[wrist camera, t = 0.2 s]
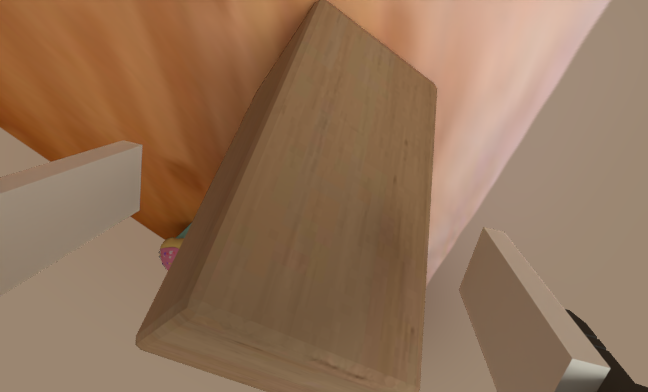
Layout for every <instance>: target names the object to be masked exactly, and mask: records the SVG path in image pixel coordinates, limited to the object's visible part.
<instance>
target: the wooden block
mask: <svg viewBox="0 0 648 392" xmlns="http://www.w3.org/2000/svg"><path fill="white" fill-rule="evenodd" d="M436 99H437V88H436V86H435V84H434V83H433V82H431V81H430V80H429V79H427V78H426V77H425V76H424V75H422V74H421V73H420V72H418V71H417V70H416V69H415V68H413V67H412V66H411V65H409V64H408V63H407V62H405V61H404V60H403V59H402V58H400V57H399V56H398V55H396V54H395V53H394V52H393V51H391V50H390V49H389V48H387V47H386V46H385V45H383V44H382V43H381V42H380V41H378V40H377V39H376V38H374V37H373V36H372V35H371V34H369V33H368V32H367V31H365V30H364V29H363V28H361V27H360V26H359V25H358V24H356V23H355V22H354V21H352V20H351V19H350V18H349V17H347V16H346V15H345V14H343V13H342V12H341V11H340V10H338V9H337V8H336V7H334V6H333V5H332V4H330V3H329V2H328V1H327V0H319V1H317V2H315V4H314V5H313V7H312V8H311V10H310V11H309V13H308V14H307V16H306V17H305V19H304V20H303V22H302V24H301V25H300V27H299V28H298V30H297V31H296V33H295V34H294V36H293V37H292V39H291V40H290V42H289V43H288V45H287V46H286V48H285V49H284V51H283V53H282V54H281V56H280V57H279V59H278V60H277V62H276V63H275V65H274V66H273V68H272V69H271V71H270V72H269V74H268V75H267V77H266V79H265V80H264V82H263V83H262V85H261V86H260V88H259V89H258V91H257V92H256V94H255V96H254V98H253V100H252V102H251V104H250V106H249V108H248V110H247V112H246V114H245V116H244V118H243V120H242V123H241V125H240V127H239V129H238V131H237V133H236V135H235V137H234V139H233V141H232V143H231V145H230V147H229V149H228V151H227V153H226V155H225V157H224V159H223V161H222V163H221V165H220V167H219V169H218V171H217V173H216V175H215V177H214V179H213V181H212V183H211V185H210V187H209V189H208V191H207V193H206V195H205V197H204V200H203V202H202V204H201V206H200V208H199V210H198V212H197V214H196V216H195V218H194V220H193V222H192V224H191V226H190V228H189V230H188V232H187V234H186V236H185V238H184V240H183V242H182V244H181V246H180V248H179V250H178V252H177V254H176V256H175V258H174V260H173V262H172V264H171V266H170V268H169V270H168V272H167V275H166V277H165V279H164V281H163V283H162V285H161V287H160V289H159V291H158V293H157V295H156V297H155V299H154V301H153V303H152V305H151V307H150V309H149V311H148V313H147V315H146V317H145V319H144V321H143V323H142V325H141V327H140V329H139V331H138V333H137V335H136V345H137V346H138V347H139V348H140V349H141V350H143V351H146V352H149V353H153V354H155V355H158V356H161V357H164V358H167V359H170V360H173V361H176V362H179V363H182V364H185V365H189V366H192V367H194V368H197V369H201V370H203V371H206V372H209V373H212V374H216V375H218V376H221V377H224V378H227V379H230V380H233V381H236V382H239V383H242V384H245V385H248V386H251V387H254V388H257V389H260V390H263V391H266V392H419V390H420V378H421V360H422V342H423V326H424V309H425V291H426V274H427V256H428V239H429V221H430V204H431V186H432V169H433V151H434V134H435V116H436Z"/></svg>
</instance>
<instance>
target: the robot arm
mask: <svg viewBox="0 0 648 392" xmlns="http://www.w3.org/2000/svg"><path fill="white" fill-rule="evenodd" d="M141 163H142V145H141V144H137V143H132V142H128V141H124V140H123V141H119V142H116V143H113V144H109V145H106V146H103V147H99V148H96V149H93V150H89V151H86V152H83V153H79V154H76V155H73V156H69V157H66V158H63V159H59V160H56V161H53V162H49V163H46V164H43V165H39V166H36V167H33V168H29V169H26V170H23V171H19V172H16V173H13V174H9V175H6V176H3V177H0V296H1V295H3V294H5V293H6V292H8V291H10V290H11V289H13V288H14V287H16V286H18V285H19V284H21V283H23V282H24V281H26V280H27V279H29V278H31V277H32V276H34V275H36V274H37V273H39V272H40V271H42V270H43V269H45V268H47V267H49V266H50V265H52V264H53V263H55V262H57V261H58V260H60V259H62V258H63V257H65V256H66V255H68V254H70V253H71V252H73V251H74V250H76V249H78V248H79V247H81V246H82V245H84V244H86V243H87V242H89V241H91V240H92V239H94V238H95V237H97V236H99V235H100V234H102V233H104V232H105V231H107V230H108V229H110V228H112V227H113V226H115V225H116V224H118V223H120V222H121V221H123V220H125V219H126V218H128V217H129V216H131V215H133V214H134V213H136V212H138V211H139V210H140V187H141ZM459 291H460V294H461V297H462V299H463V302H464V305H465V307H466V310H467V312H468V315H469V318H470V321H471V323H472V326H473V328H474V331H475V334H476V336H477V339H478V342H479V344H480V347H481V350H482V353H483V355H484V358H485V360H486V363H487V366H488V368H489V371H490V374H491V376H492V378H493V382H494V384H495V387H496V389H497V392H648V387H645V386H642V385H639V384H635V383H634V381H633V380H632V379H631V378H630V377H629V375H627V373H626V372H625V371H624V369H623V368H622V367H621V366H620V364H619V363H618V362H617V361H616V360H615V358H614V357H613V356H612V355H611V353H610V352H609V351H606V347H605V346H604V345H603V344H602V343H601V341H600V340H599V339H597V336H596V335H595V334H594V333H593V331H592V330H591V329H590V328H589V327H588V325H587V324H586V323H585V322H584V321H582V320H581V319H580V318H578V317H577V316H576V315H575V314H574V313H572V312H571V311H570V310H566V309H564V308H563V306H562V305H561V304H560V303H559V301H558V300H557V299H556V297H555V296H554V295H553V294H552V292H551V291H550V290H549V288H548V287H547V286H546V285H545V283H544V282H543V281H542V280H541V278H540V277H539V276H538V274H537V273H536V272H535V270H534V269H533V268H532V267H531V265H530V264H529V263H528V262H527V260H526V259H525V258H524V256H523V255H522V254H521V252H520V251H519V250H518V249H517V247H516V246H515V245H514V244H513V243H512V241H511V240H510V238H509V237H508V236H507V235H506V233H505V232H503V231H499V230H495V229H490V228H486V227H483V230H482V232H481V235H480V237H479V240H478V242H477V245H476V247H475V250H474V252H473V255H472V258H471V260H470V263H469V265H468V268H467V270H466V273H465V275H464V278H463V281H462V283H461V286H460V288H459Z"/></svg>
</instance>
